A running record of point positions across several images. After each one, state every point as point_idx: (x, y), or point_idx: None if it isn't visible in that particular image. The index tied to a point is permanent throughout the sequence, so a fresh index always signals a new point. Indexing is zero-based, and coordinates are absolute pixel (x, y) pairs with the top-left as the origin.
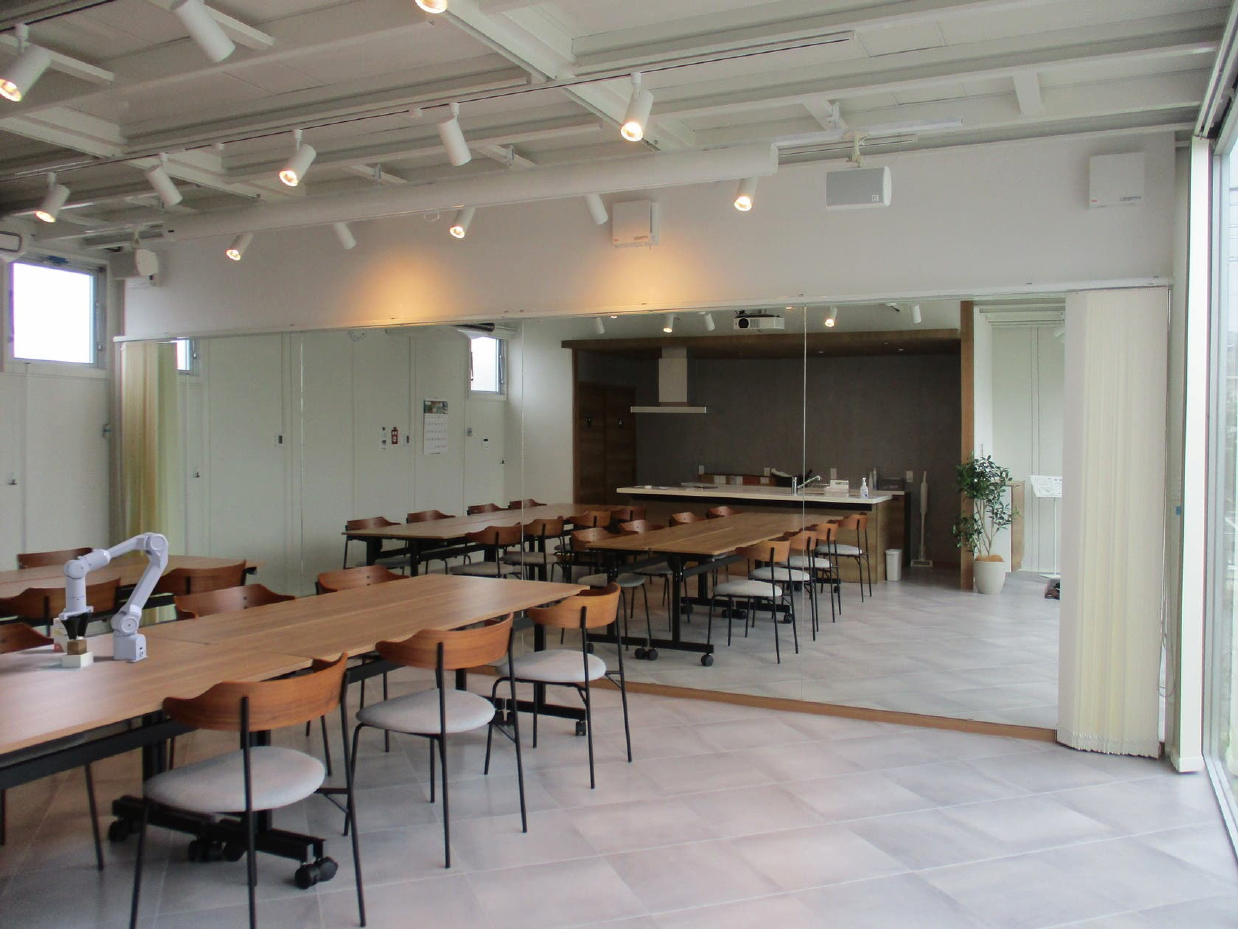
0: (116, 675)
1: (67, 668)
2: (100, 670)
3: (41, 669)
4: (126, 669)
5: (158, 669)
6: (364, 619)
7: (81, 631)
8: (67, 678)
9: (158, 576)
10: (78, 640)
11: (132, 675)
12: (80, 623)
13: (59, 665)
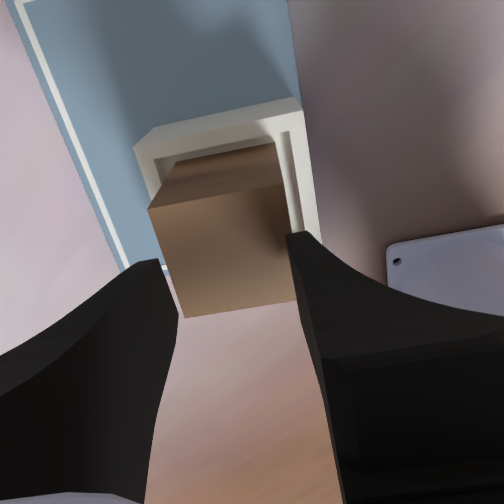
0: (176, 437)
1: (144, 192)
2: (228, 328)
3: (46, 21)
4: (273, 410)
5: (298, 496)
6: None
7: (300, 311)
8: (48, 301)
9: None
10: (240, 267)
11: (196, 478)
12: (320, 380)
13: (188, 55)
